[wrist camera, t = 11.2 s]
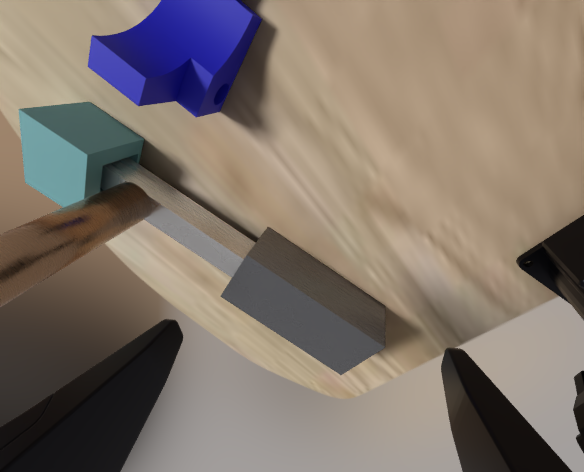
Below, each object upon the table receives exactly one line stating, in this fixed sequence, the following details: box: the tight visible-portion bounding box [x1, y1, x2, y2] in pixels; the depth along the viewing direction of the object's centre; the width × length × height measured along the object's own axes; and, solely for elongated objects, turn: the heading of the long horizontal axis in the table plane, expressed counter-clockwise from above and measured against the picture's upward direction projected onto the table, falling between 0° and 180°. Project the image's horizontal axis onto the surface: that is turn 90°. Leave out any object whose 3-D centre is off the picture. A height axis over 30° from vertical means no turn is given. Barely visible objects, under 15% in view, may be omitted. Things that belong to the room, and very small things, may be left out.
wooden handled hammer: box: [0, 157, 255, 307], centre depth 18 cm, size 18×3×13 cm, turn 59°
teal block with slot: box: [19, 102, 144, 207], centre depth 21 cm, size 5×6×5 cm
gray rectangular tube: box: [221, 227, 385, 375], centre depth 23 cm, size 12×5×4 cm, turn 59°
